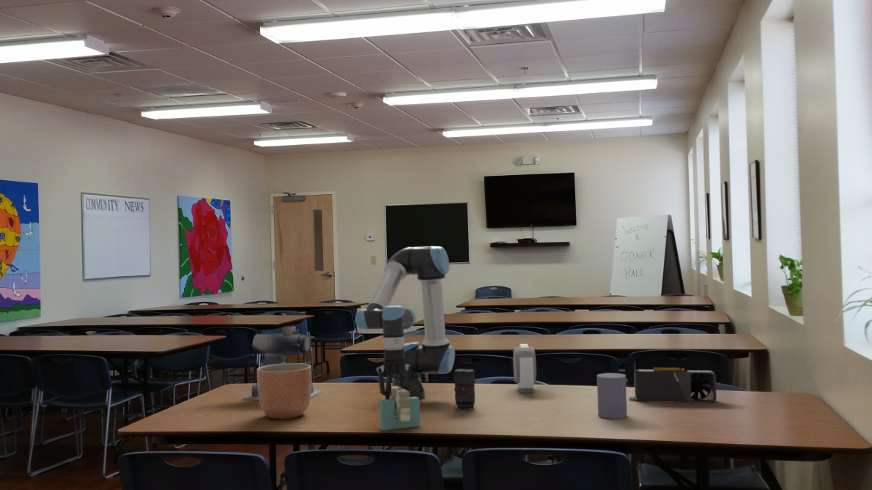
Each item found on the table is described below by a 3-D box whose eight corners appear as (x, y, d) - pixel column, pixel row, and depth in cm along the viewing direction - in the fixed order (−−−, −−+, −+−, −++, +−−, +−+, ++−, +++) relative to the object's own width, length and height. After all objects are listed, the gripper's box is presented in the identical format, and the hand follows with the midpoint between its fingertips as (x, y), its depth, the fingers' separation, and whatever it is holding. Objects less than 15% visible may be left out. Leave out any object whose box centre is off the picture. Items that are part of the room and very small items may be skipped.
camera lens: (474, 410, 292) (472, 371, 292) (453, 409, 293) (452, 371, 293) (477, 405, 300) (475, 368, 300) (457, 405, 301) (456, 368, 301)
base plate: (382, 430, 263) (381, 402, 263) (379, 428, 266) (379, 400, 266) (419, 425, 268) (419, 398, 268) (416, 424, 271) (416, 396, 271)
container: (610, 420, 268) (609, 378, 268) (592, 415, 277) (591, 375, 277) (633, 417, 273) (631, 375, 273) (613, 412, 282) (612, 372, 282)
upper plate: (389, 413, 273) (388, 386, 273) (397, 412, 274) (397, 385, 274) (401, 421, 260) (400, 392, 260) (410, 420, 261) (409, 391, 261)
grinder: (258, 391, 345) (256, 325, 345) (322, 392, 339) (320, 324, 340) (240, 399, 327) (238, 329, 327) (308, 400, 321) (306, 328, 321)
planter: (253, 414, 297) (252, 366, 297) (305, 408, 305) (304, 361, 305) (263, 424, 278) (262, 373, 278) (318, 418, 286) (316, 368, 286)
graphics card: (629, 401, 300) (628, 365, 300) (629, 399, 304) (628, 364, 304) (716, 404, 292) (715, 367, 292) (715, 401, 296) (714, 365, 296)
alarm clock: (537, 393, 320) (535, 346, 320) (517, 394, 320) (516, 347, 320) (532, 386, 338) (531, 341, 338) (513, 386, 338) (512, 342, 338)
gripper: (375, 351, 265) (376, 417, 265) (418, 348, 271) (420, 412, 271) (369, 348, 272) (371, 413, 272) (411, 345, 278) (413, 409, 278)
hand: (395, 413), depth 271 cm, fingers closed on upper plate, 3 cm apart
